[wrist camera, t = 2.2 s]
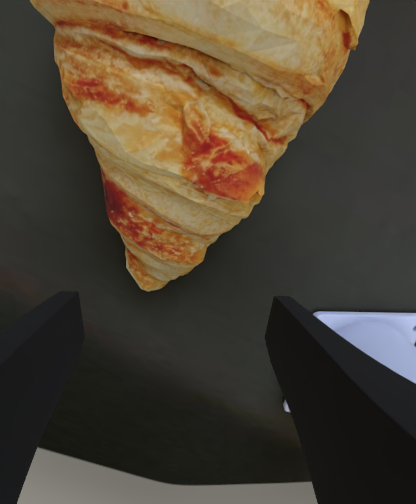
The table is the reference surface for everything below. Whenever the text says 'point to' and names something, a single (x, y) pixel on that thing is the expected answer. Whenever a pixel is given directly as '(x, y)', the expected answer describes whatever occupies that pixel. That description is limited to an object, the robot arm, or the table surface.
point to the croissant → (193, 107)
